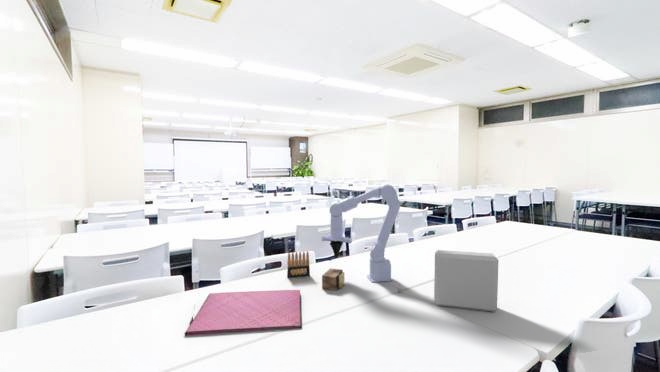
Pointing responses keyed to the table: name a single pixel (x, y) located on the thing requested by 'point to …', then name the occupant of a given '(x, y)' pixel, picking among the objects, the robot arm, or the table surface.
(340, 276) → the peg
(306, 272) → the ammunition clip
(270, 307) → the laptop bag
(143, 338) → the table surface
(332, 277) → the collar block
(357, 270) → the table surface
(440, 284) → the bevelled white case
